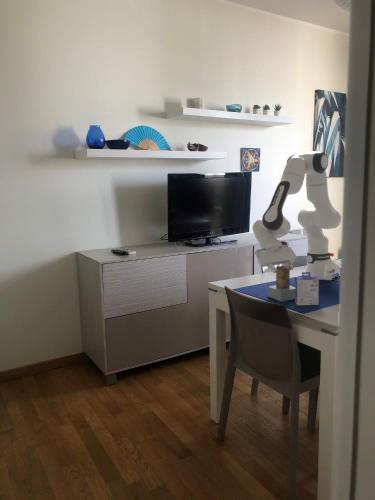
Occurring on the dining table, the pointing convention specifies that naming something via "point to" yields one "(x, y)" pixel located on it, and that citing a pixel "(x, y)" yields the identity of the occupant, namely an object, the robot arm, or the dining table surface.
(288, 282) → the brown cylinder
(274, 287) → the white square block
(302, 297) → the ink cartridge box
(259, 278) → the dining table surface
